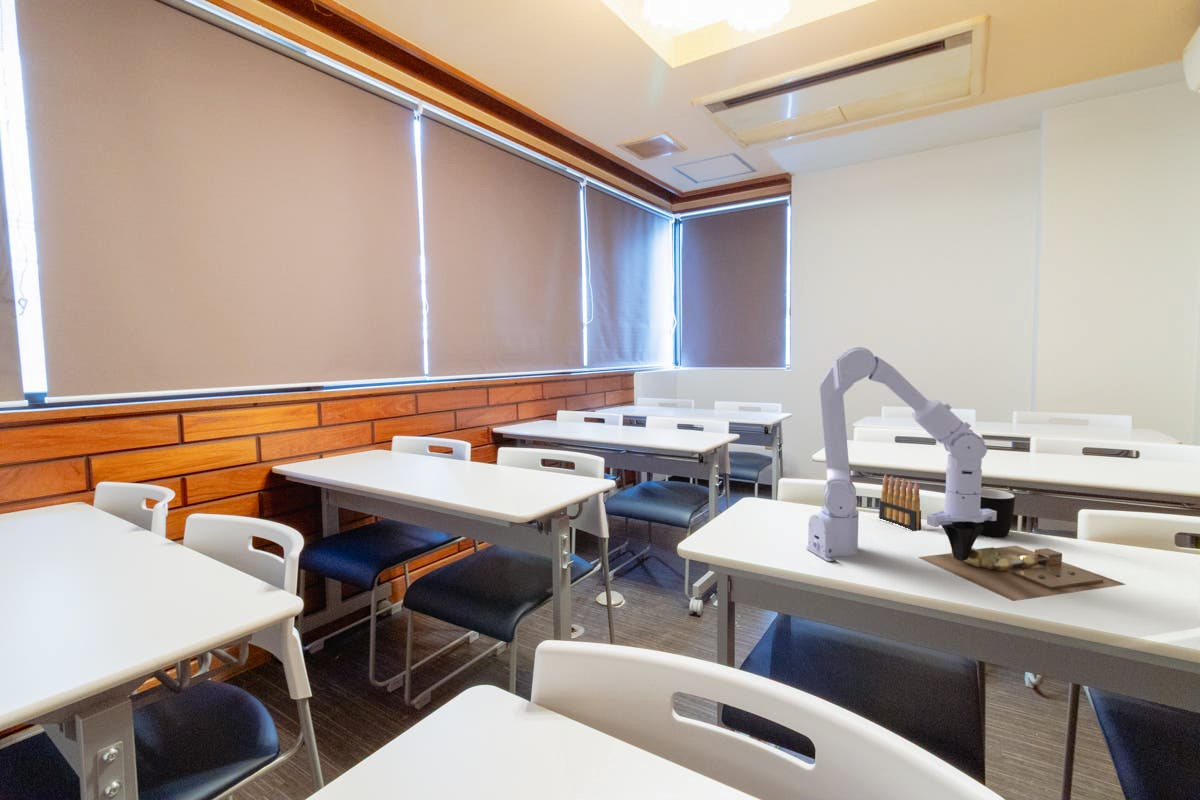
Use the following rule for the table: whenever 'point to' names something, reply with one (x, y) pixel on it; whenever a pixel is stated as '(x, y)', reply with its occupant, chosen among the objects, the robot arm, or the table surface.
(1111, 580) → the plank
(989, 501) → the mug
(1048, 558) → the hinge base
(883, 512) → the ammunition clip
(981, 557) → the leaf
